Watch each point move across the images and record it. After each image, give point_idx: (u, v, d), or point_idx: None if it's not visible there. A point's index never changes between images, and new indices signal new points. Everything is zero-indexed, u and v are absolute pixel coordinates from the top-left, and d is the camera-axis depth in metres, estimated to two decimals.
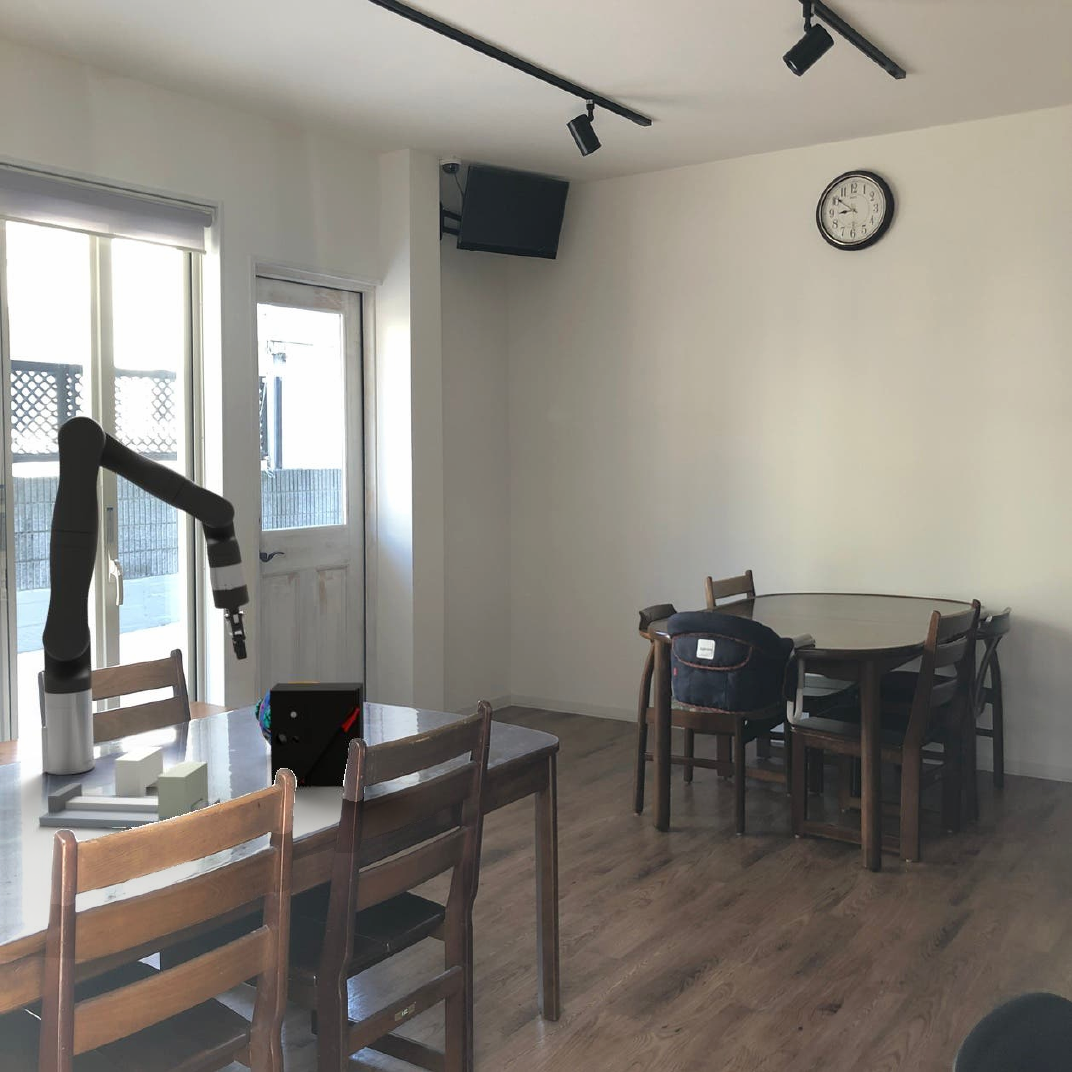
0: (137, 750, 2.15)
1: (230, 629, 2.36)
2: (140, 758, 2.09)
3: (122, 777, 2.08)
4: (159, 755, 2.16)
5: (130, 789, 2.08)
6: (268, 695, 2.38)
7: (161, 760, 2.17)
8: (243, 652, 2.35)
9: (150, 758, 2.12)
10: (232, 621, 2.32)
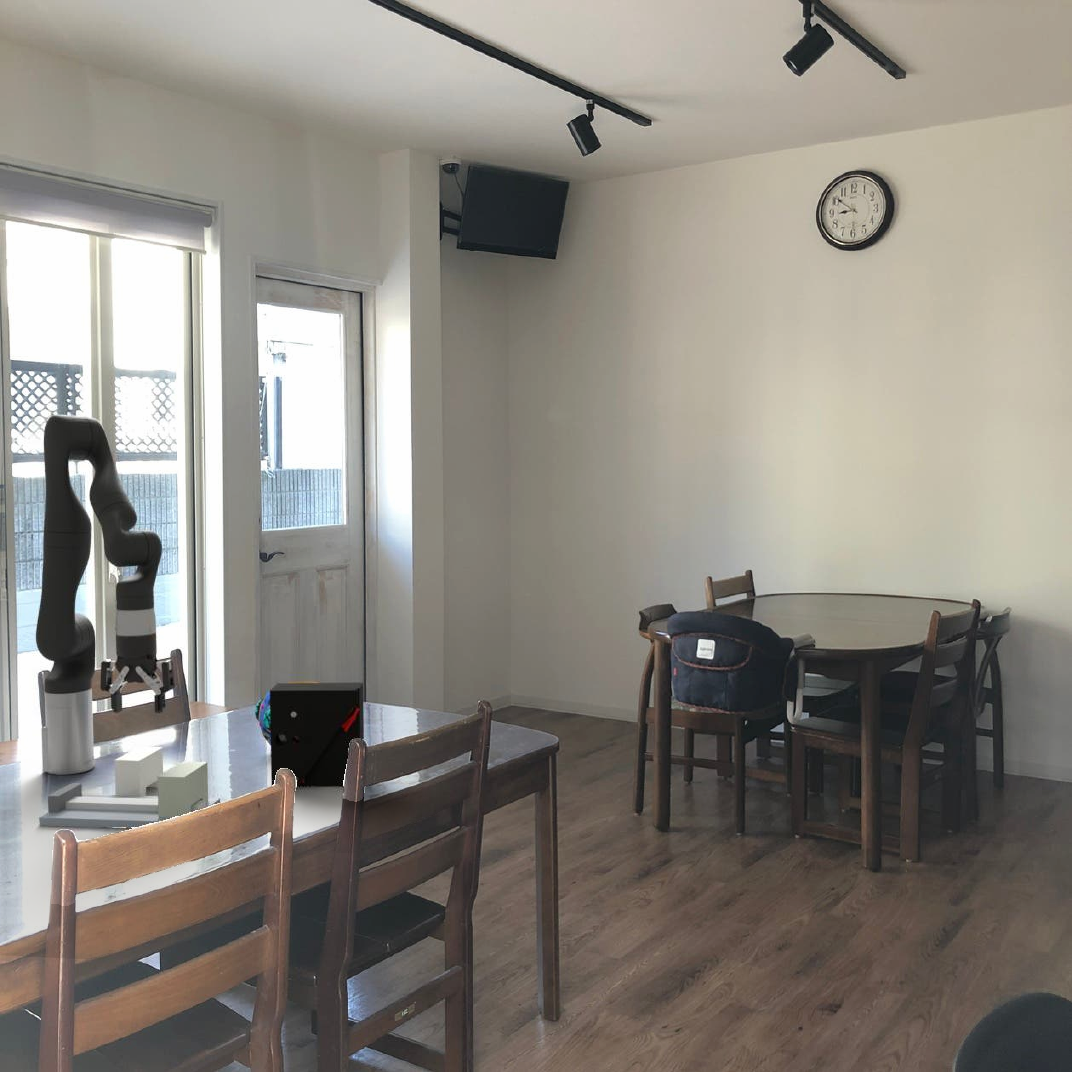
0: (137, 750, 2.15)
1: None
2: (140, 758, 2.09)
3: (122, 777, 2.08)
4: (159, 755, 2.16)
5: (130, 789, 2.08)
6: (268, 695, 2.38)
7: (161, 760, 2.17)
8: None
9: (150, 758, 2.12)
10: None
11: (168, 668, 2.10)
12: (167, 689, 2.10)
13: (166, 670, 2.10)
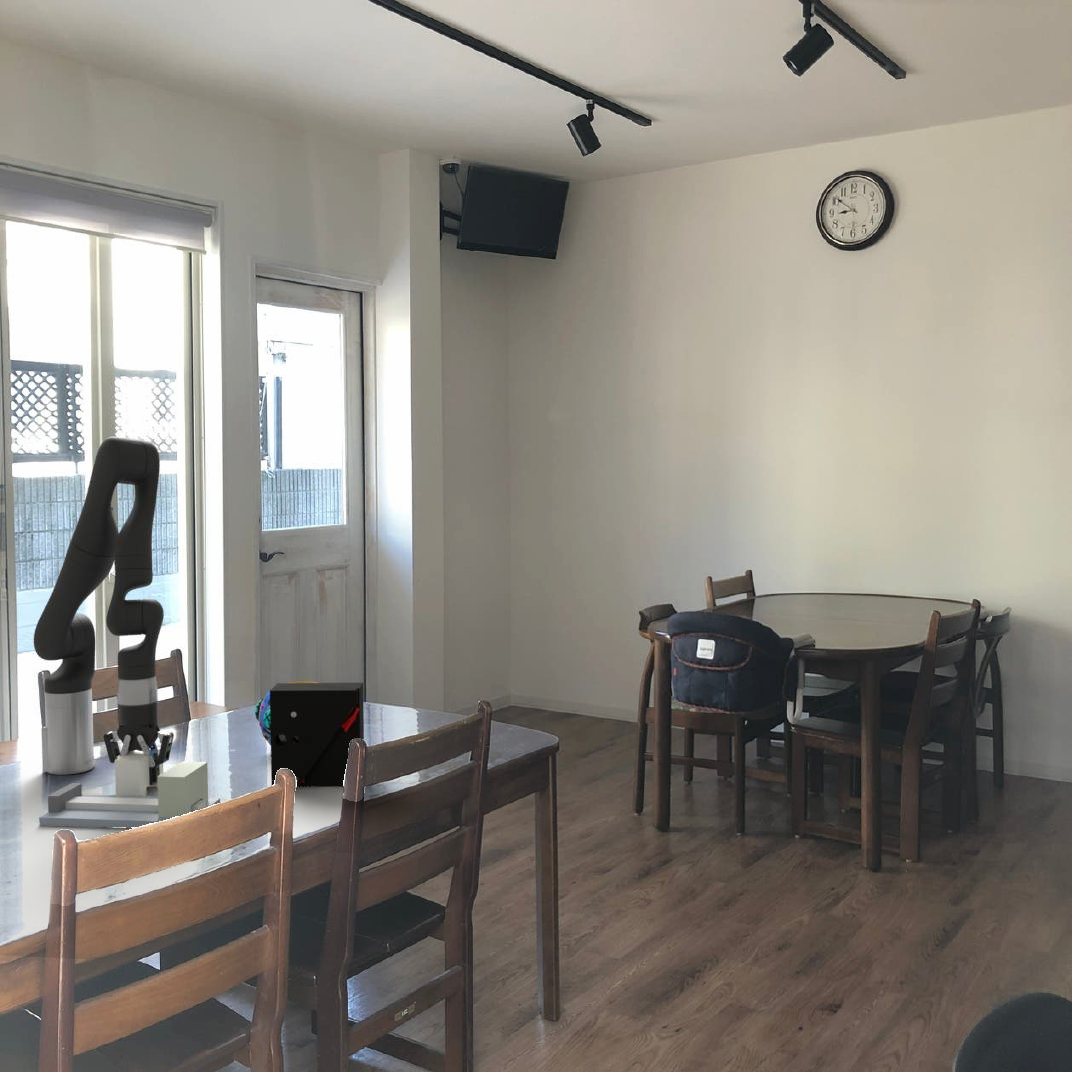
0: (137, 750, 2.15)
1: None
2: (140, 758, 2.09)
3: (122, 777, 2.08)
4: None
5: (130, 789, 2.08)
6: (268, 695, 2.38)
7: None
8: None
9: None
10: None
11: (168, 742, 2.11)
12: (161, 761, 2.11)
13: (165, 744, 2.11)
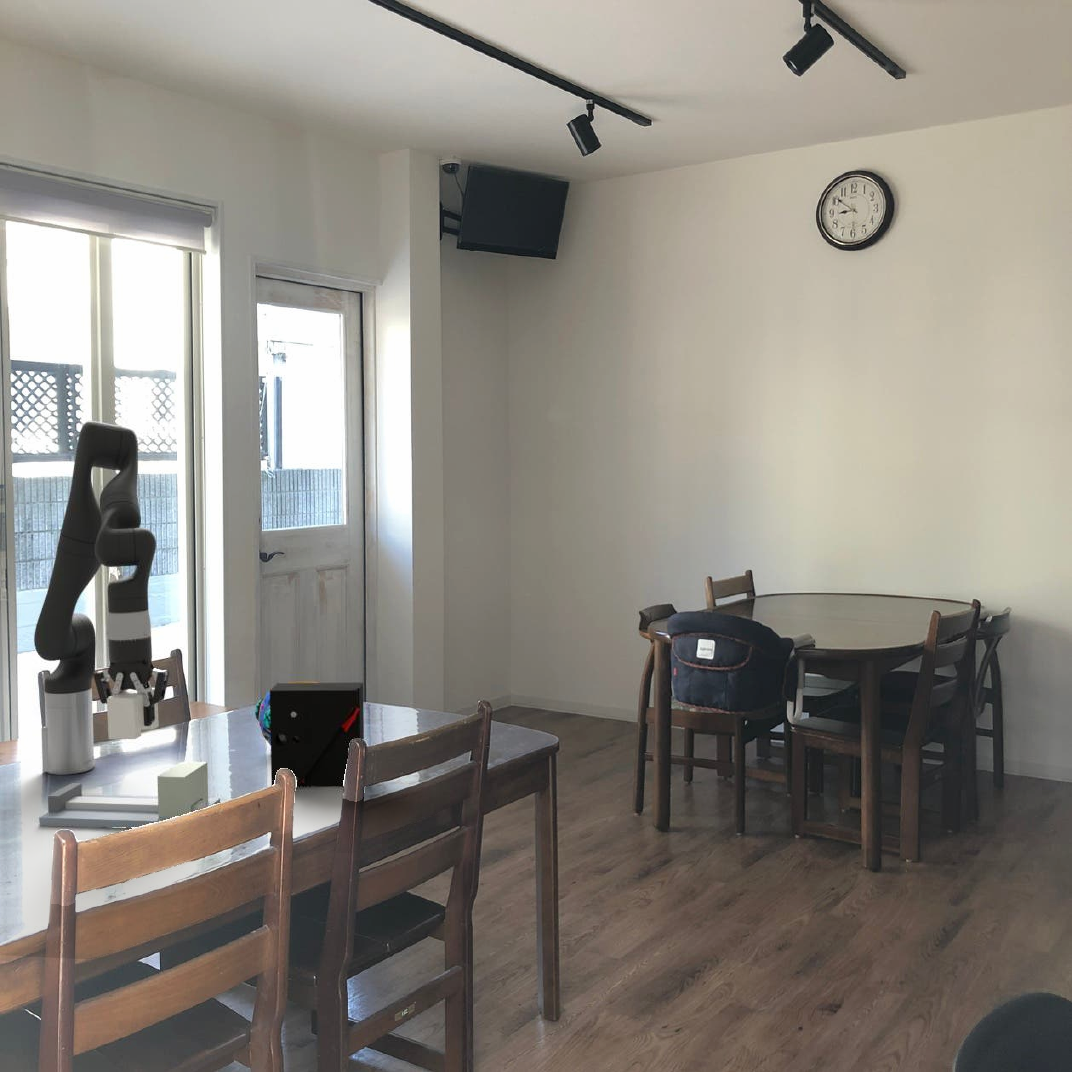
0: (130, 690, 2.02)
1: None
2: (134, 696, 1.96)
3: (115, 716, 1.95)
4: None
5: (124, 729, 1.95)
6: (268, 695, 2.38)
7: None
8: None
9: None
10: None
11: (163, 679, 1.98)
12: (156, 700, 1.98)
13: (161, 681, 1.98)
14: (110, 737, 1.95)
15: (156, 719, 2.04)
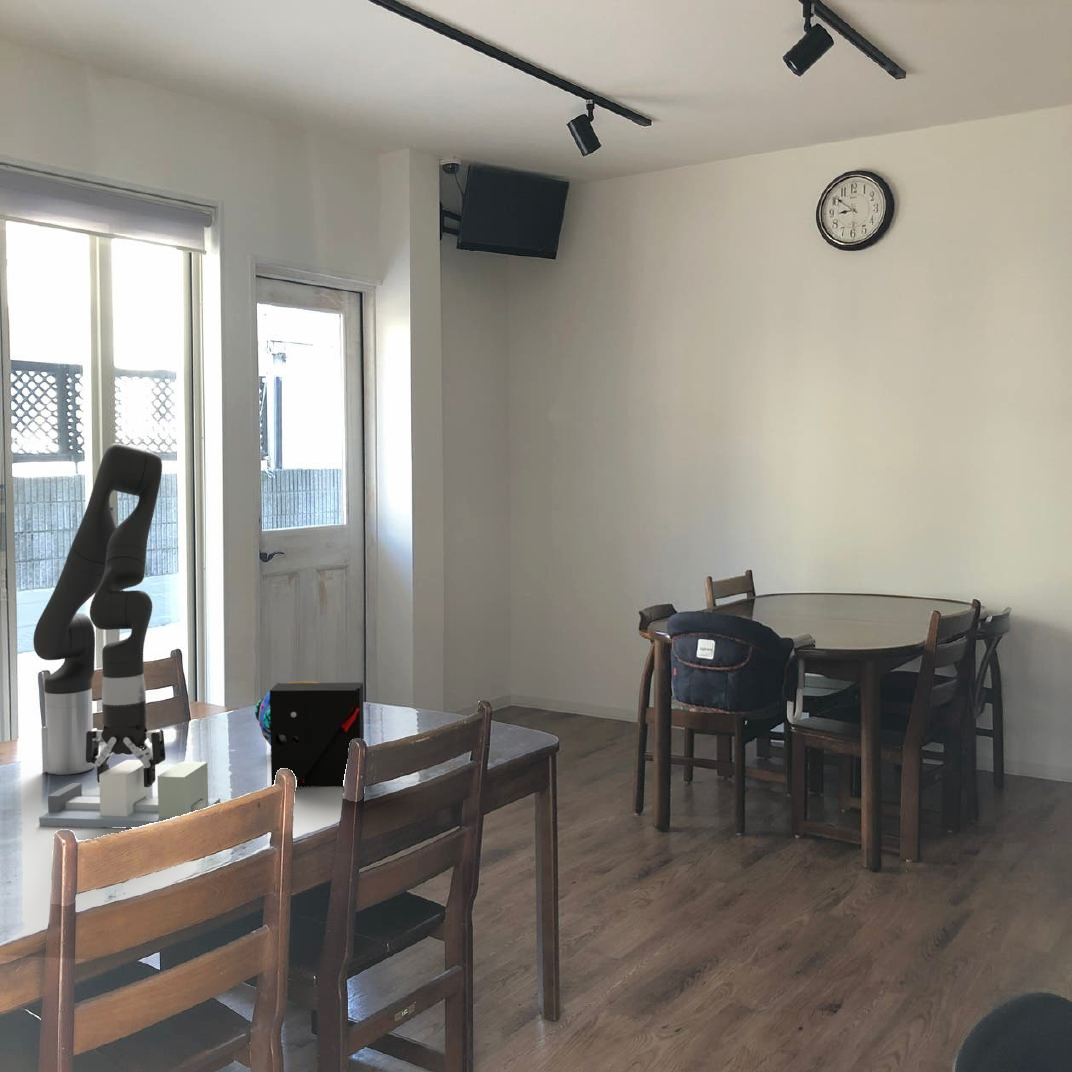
0: (124, 763, 2.00)
1: None
2: (127, 772, 1.94)
3: (107, 793, 1.93)
4: None
5: (116, 806, 1.93)
6: (268, 695, 2.38)
7: None
8: None
9: (138, 772, 1.97)
10: None
11: (158, 739, 1.95)
12: (157, 762, 1.95)
13: (156, 741, 1.95)
14: (102, 813, 1.93)
15: (150, 792, 2.02)
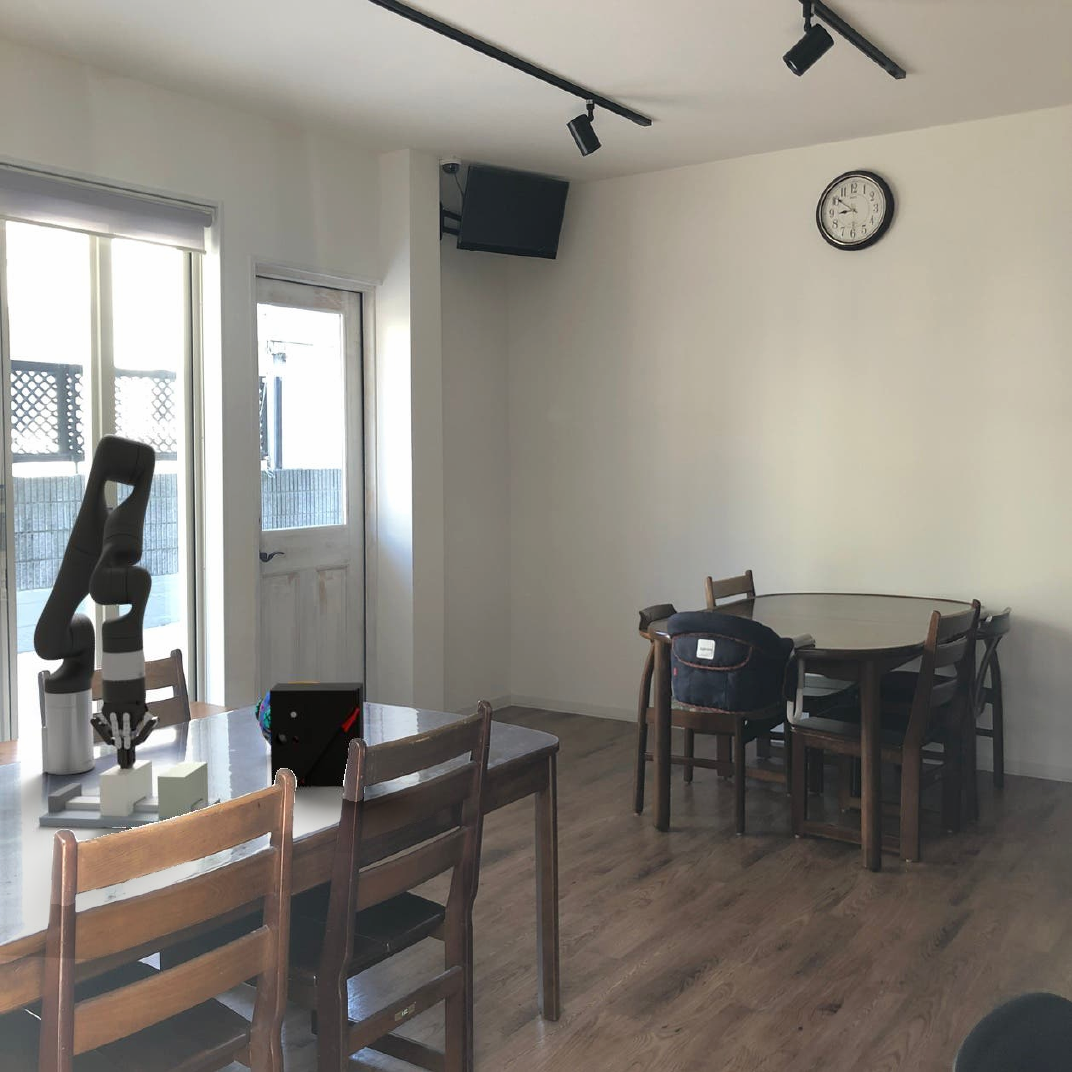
0: None
1: None
2: (127, 772, 1.94)
3: (107, 793, 1.93)
4: (148, 769, 2.01)
5: (116, 806, 1.93)
6: (268, 695, 2.38)
7: (150, 774, 2.02)
8: None
9: (138, 772, 1.97)
10: None
11: (151, 727, 1.95)
12: (137, 743, 1.96)
13: (148, 728, 1.95)
14: (102, 813, 1.93)
15: (150, 792, 2.02)
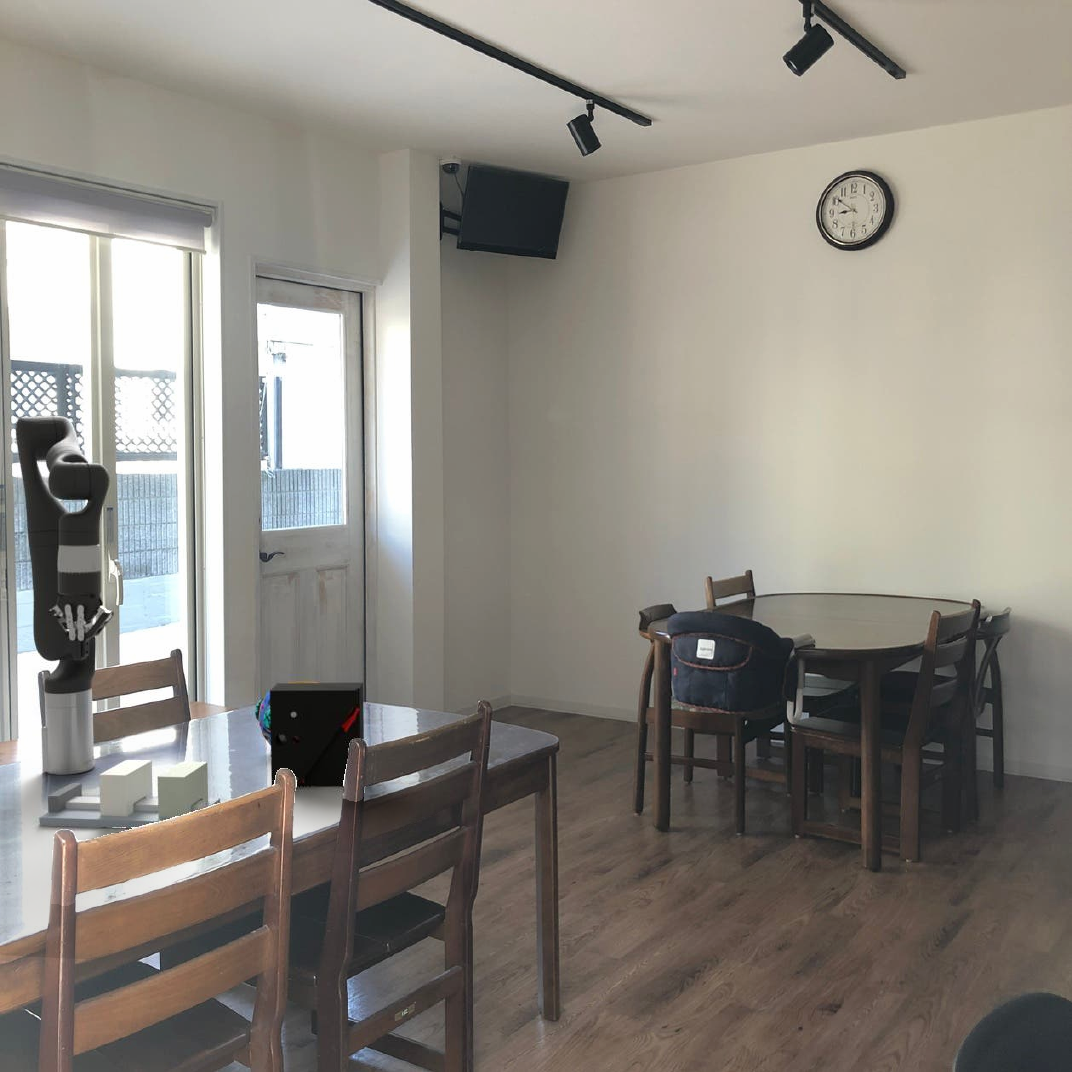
0: (124, 763, 2.00)
1: None
2: (127, 772, 1.94)
3: (107, 793, 1.93)
4: (148, 769, 2.01)
5: (116, 806, 1.93)
6: (268, 695, 2.38)
7: (150, 774, 2.02)
8: None
9: (138, 772, 1.97)
10: None
11: (105, 620, 2.01)
12: (90, 635, 2.01)
13: (102, 621, 2.01)
14: (102, 813, 1.93)
15: (150, 792, 2.02)
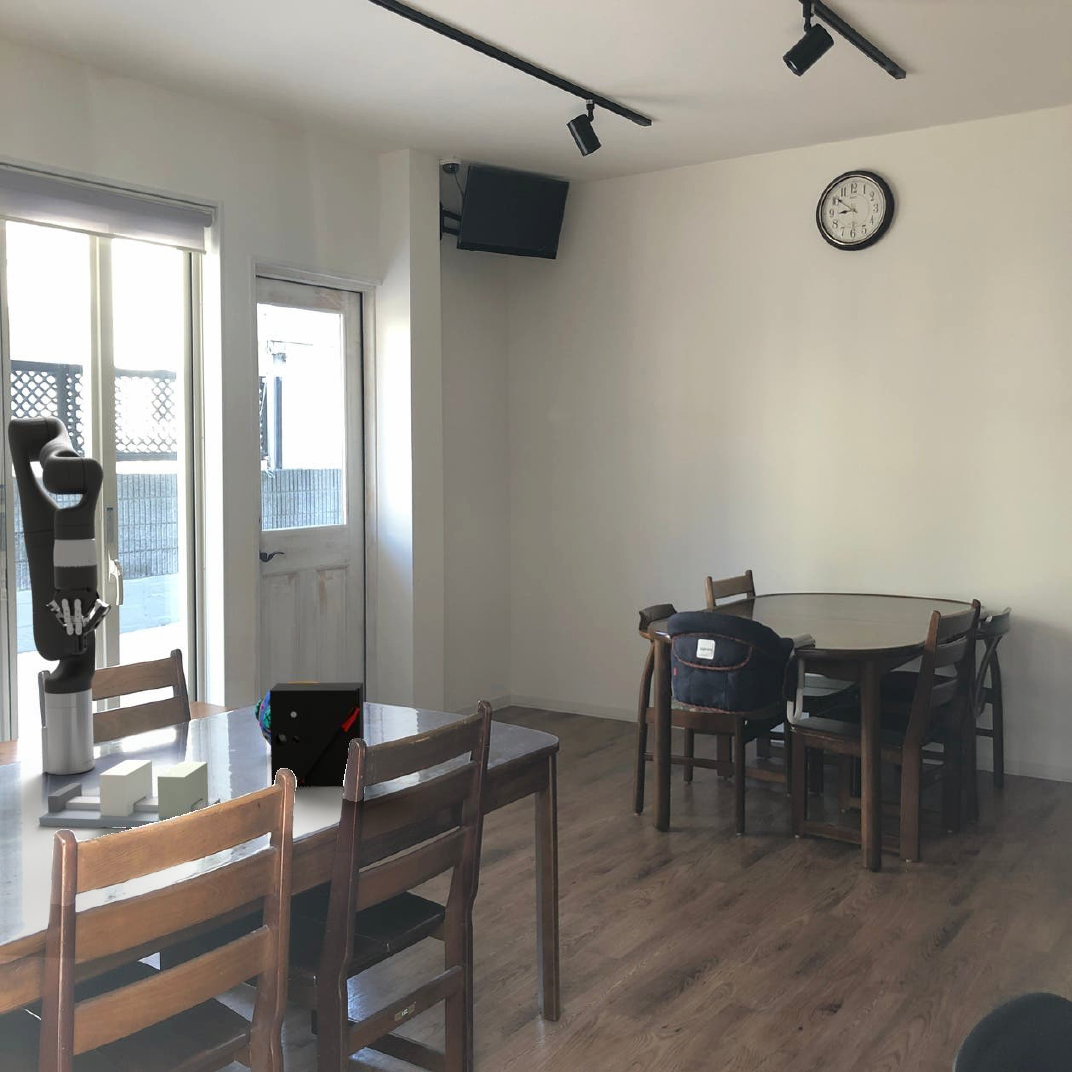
0: (124, 763, 2.00)
1: None
2: (127, 772, 1.94)
3: (107, 793, 1.93)
4: (148, 769, 2.01)
5: (116, 806, 1.93)
6: (268, 695, 2.38)
7: (150, 774, 2.02)
8: None
9: (138, 772, 1.97)
10: None
11: (102, 614, 2.01)
12: (88, 629, 2.02)
13: (99, 614, 2.01)
14: (102, 813, 1.93)
15: (150, 792, 2.02)
